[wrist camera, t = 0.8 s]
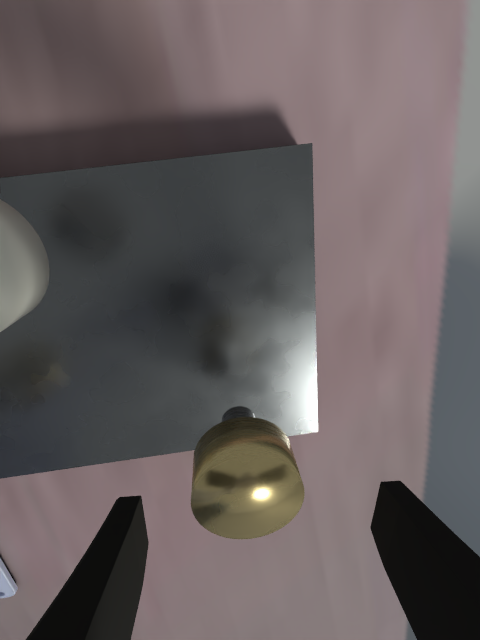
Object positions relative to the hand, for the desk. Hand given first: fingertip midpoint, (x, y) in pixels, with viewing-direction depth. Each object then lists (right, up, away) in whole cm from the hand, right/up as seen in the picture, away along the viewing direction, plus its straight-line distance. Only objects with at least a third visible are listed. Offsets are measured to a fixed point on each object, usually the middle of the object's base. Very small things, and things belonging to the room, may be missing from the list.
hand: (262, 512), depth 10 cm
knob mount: (-8, +5, +8) cm, 13 cm away
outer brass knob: (-1, +1, +6) cm, 6 cm away
